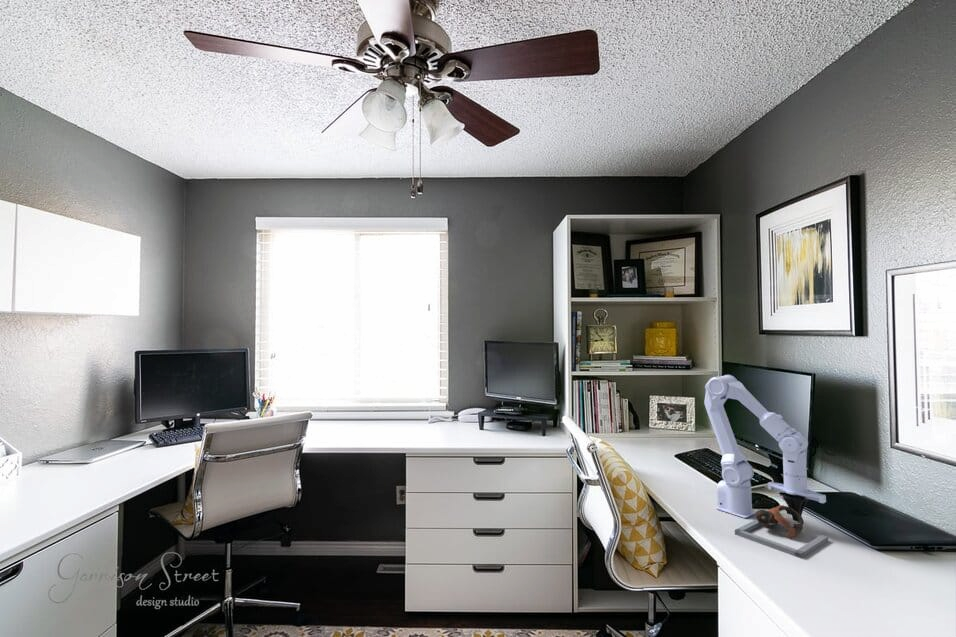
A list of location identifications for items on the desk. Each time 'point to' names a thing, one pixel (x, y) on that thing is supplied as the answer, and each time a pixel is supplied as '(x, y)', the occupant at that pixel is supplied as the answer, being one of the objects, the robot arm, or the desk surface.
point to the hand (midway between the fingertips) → (796, 520)
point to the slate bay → (799, 553)
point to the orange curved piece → (780, 519)
